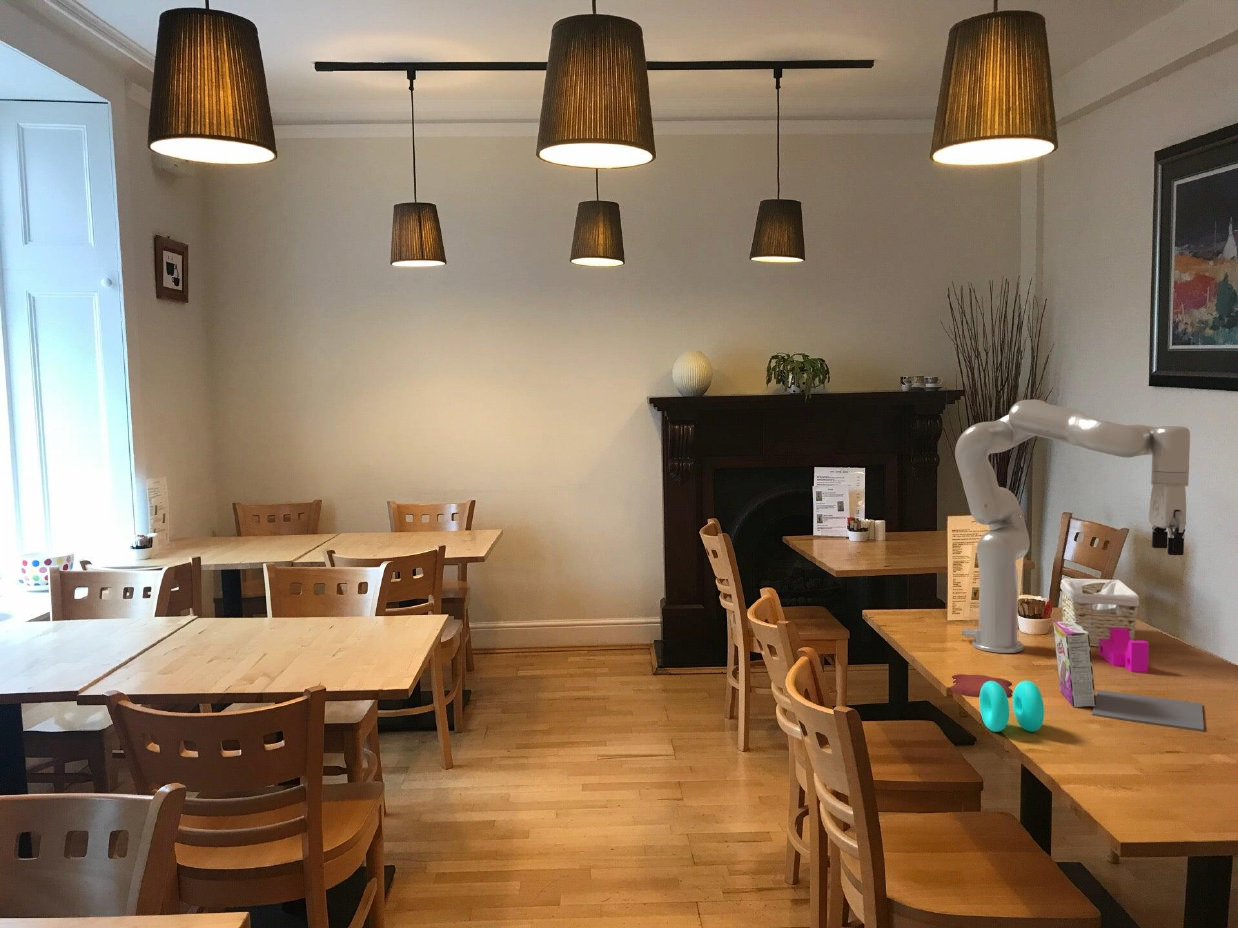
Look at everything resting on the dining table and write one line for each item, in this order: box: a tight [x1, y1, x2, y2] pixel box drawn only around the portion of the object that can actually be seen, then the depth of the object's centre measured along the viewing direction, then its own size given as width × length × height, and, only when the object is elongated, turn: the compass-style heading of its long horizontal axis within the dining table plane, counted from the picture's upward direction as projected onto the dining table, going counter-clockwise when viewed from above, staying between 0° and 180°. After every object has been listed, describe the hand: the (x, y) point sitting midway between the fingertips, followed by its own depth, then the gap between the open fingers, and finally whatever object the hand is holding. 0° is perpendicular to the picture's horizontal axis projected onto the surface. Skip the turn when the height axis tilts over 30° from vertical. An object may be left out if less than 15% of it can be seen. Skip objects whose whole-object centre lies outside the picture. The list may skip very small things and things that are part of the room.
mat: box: [1091, 689, 1205, 732], centre depth 199 cm, size 20×18×1 cm
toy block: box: [1098, 627, 1150, 674], centre depth 233 cm, size 15×6×8 cm, turn 171°
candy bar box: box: [1052, 620, 1096, 709], centre depth 205 cm, size 11×5×16 cm, turn 169°
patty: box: [949, 673, 1013, 699], centre depth 215 cm, size 18×14×2 cm
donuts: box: [978, 680, 1045, 733], centre depth 188 cm, size 10×10×10 cm
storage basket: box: [1059, 577, 1140, 648], centre depth 258 cm, size 24×16×15 cm
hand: (1167, 551), depth 220 cm, fingers open, 9 cm apart
